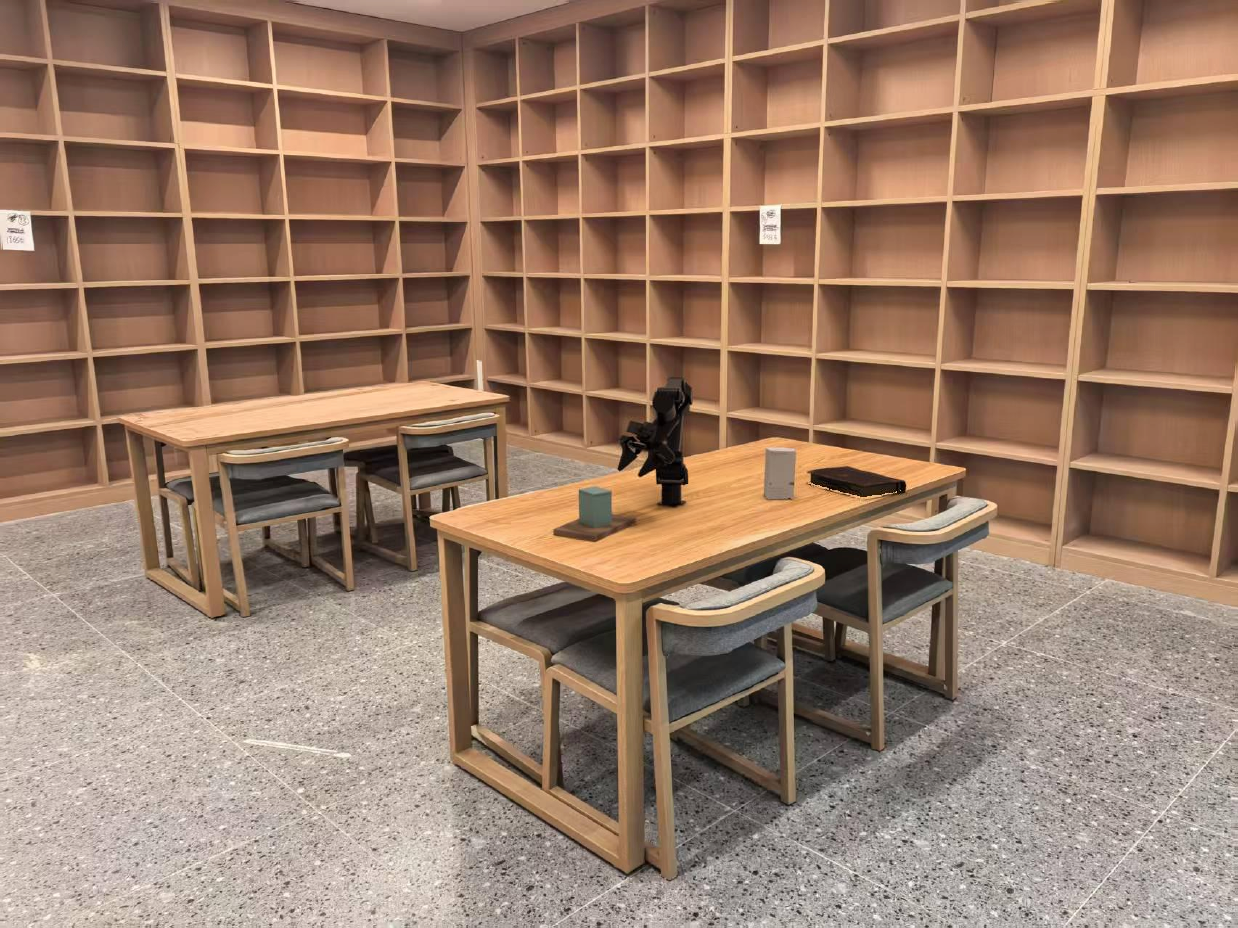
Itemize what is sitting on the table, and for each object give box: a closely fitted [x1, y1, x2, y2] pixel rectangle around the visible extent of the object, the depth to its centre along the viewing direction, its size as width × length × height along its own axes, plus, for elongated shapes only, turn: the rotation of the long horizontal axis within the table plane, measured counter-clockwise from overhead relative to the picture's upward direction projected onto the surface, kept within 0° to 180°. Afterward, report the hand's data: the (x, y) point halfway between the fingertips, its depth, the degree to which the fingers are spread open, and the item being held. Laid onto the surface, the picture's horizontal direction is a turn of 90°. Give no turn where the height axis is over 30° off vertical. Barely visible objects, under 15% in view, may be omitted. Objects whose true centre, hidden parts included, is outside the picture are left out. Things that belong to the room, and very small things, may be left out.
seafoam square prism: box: [578, 485, 613, 528], centre depth 243 cm, size 6×7×9 cm
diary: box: [806, 465, 907, 497], centre depth 286 cm, size 19×25×5 cm
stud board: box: [553, 514, 637, 543], centre depth 244 cm, size 20×13×5 cm, turn 149°
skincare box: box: [763, 446, 797, 500], centre depth 275 cm, size 8×6×15 cm
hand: (628, 473), depth 248 cm, fingers open, 9 cm apart
